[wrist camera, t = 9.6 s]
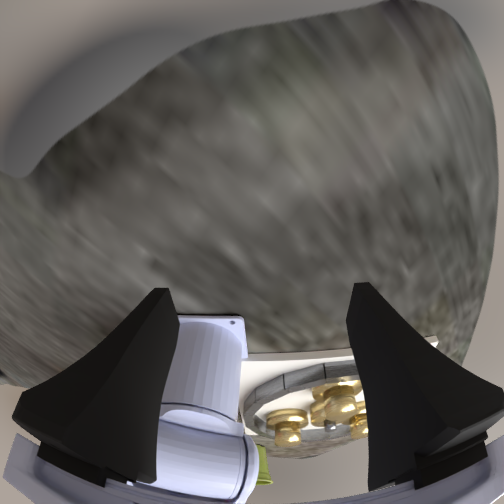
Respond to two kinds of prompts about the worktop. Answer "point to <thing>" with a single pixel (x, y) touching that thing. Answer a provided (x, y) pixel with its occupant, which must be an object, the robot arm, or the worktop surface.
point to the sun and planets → (312, 423)
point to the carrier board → (274, 364)
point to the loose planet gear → (338, 399)
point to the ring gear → (294, 383)
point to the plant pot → (263, 468)
